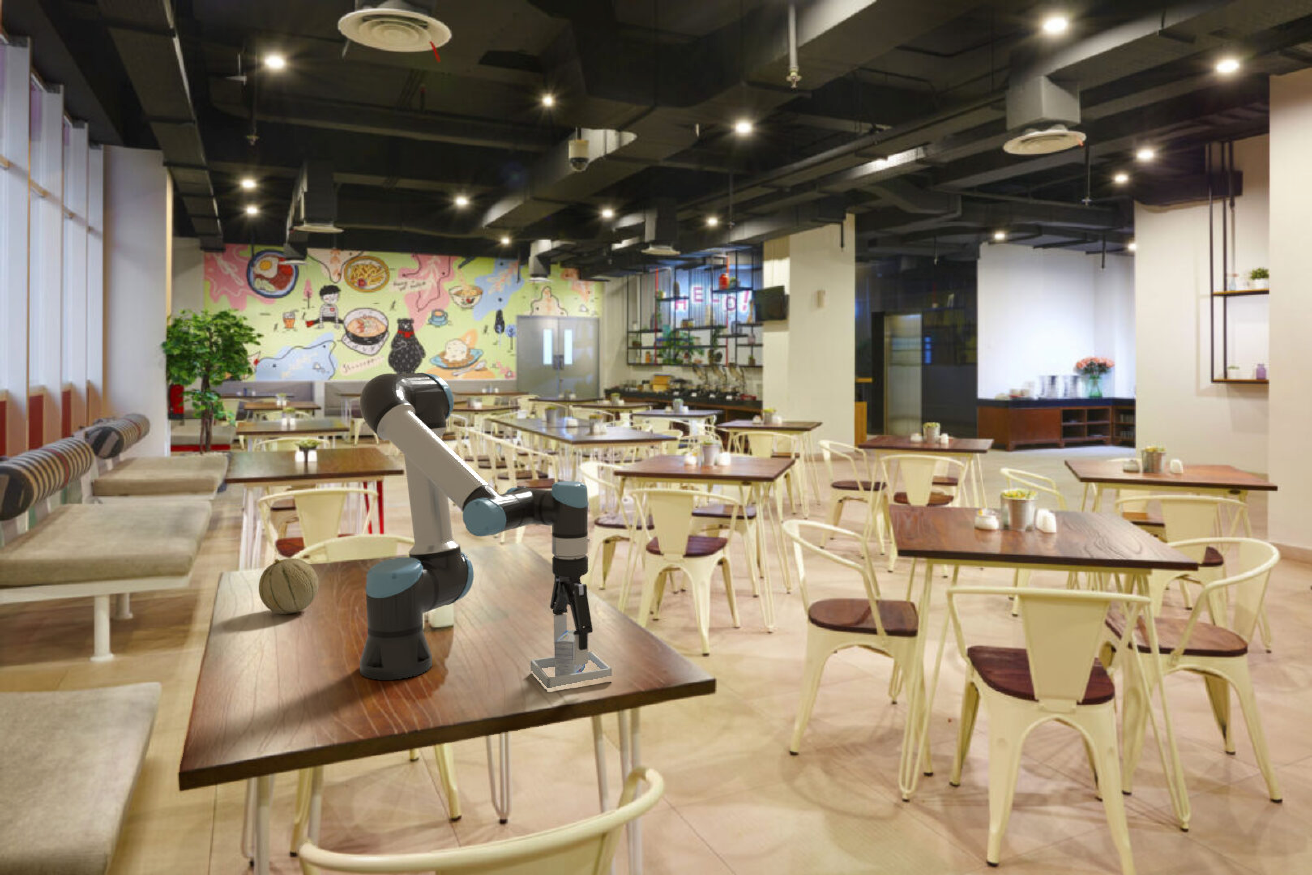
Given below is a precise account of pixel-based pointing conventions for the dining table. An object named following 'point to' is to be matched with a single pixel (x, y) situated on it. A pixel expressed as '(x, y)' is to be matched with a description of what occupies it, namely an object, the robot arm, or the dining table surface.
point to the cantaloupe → (288, 586)
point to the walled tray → (570, 678)
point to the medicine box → (566, 655)
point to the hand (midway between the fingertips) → (570, 653)
